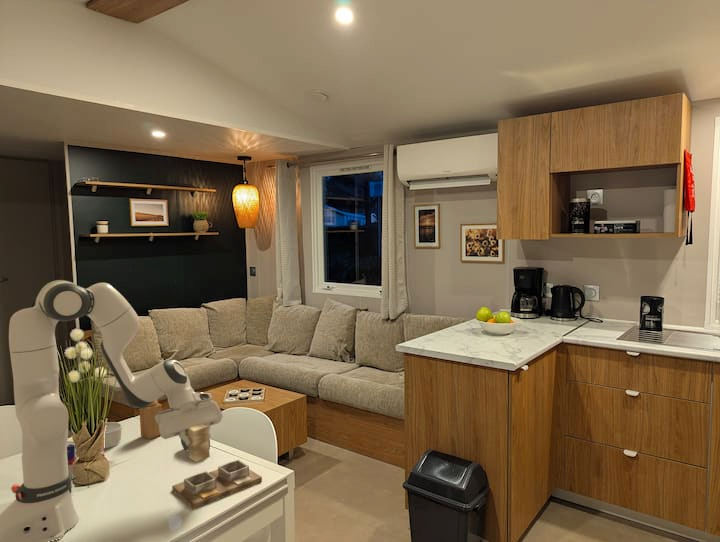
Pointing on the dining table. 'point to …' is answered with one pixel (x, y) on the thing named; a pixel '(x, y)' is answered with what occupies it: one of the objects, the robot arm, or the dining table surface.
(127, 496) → the dining table surface
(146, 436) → the decorative item
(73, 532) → the dining table surface
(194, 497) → the socket board
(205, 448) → the wooden plug
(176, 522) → the dining table surface
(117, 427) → the ramekin
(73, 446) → the energy drink
